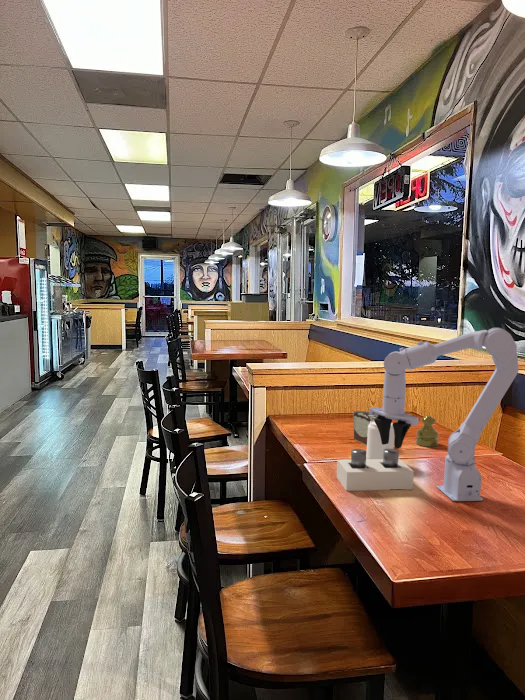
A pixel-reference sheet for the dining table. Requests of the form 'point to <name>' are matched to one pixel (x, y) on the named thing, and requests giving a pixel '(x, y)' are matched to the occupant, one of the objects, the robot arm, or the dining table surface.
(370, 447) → the beverage can
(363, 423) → the food container
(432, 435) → the olive green tiered piece
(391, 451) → the peg
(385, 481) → the bore block
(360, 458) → the peg
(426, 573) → the dining table surface
